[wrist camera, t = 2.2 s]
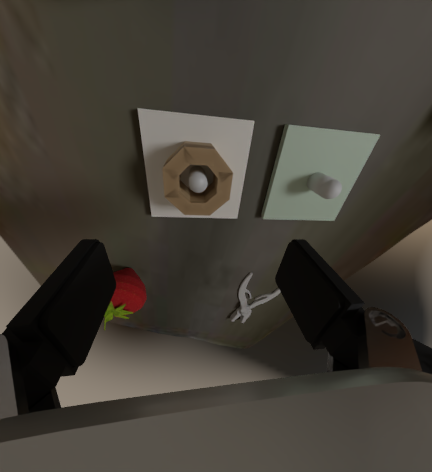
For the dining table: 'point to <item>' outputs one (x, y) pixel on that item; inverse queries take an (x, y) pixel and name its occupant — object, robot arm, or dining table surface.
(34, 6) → the dining table surface
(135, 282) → the strawberry
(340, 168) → the plate
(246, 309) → the pliers
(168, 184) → the collar
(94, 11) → the dining table surface
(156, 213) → the stand
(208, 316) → the dining table surface
